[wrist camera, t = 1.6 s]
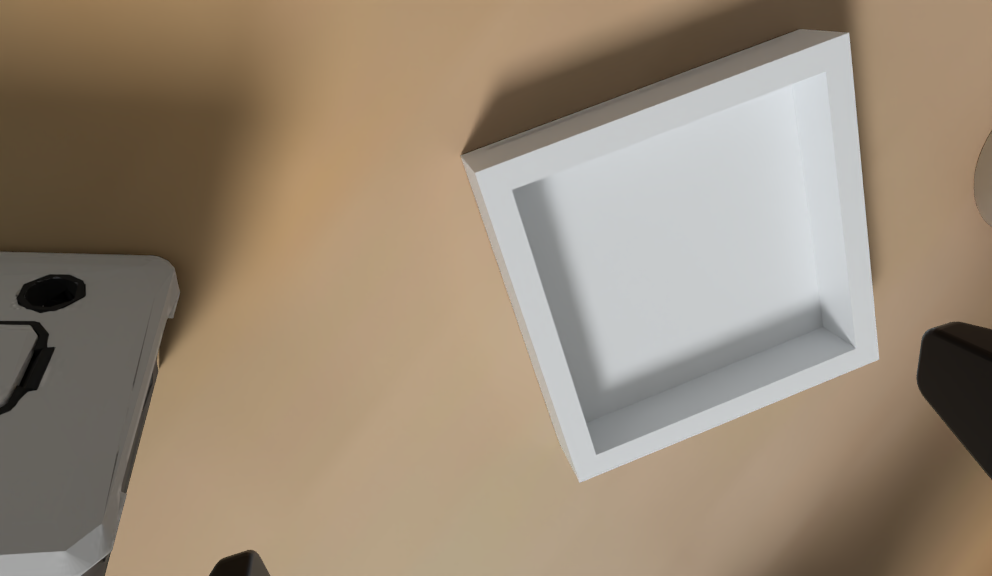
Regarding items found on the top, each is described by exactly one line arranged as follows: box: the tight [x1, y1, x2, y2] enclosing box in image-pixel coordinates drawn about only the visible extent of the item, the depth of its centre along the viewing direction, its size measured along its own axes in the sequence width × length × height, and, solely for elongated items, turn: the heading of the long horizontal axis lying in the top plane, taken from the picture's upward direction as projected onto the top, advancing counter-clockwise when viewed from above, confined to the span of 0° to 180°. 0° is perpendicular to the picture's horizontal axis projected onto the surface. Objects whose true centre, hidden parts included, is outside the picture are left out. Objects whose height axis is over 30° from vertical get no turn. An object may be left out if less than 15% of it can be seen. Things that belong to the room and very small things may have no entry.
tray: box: [461, 29, 879, 482], centre depth 23 cm, size 11×11×2 cm
